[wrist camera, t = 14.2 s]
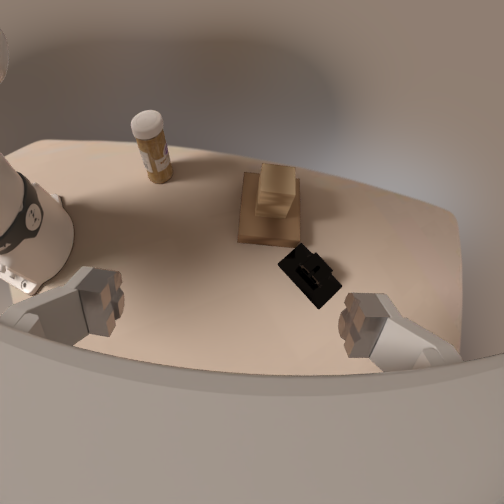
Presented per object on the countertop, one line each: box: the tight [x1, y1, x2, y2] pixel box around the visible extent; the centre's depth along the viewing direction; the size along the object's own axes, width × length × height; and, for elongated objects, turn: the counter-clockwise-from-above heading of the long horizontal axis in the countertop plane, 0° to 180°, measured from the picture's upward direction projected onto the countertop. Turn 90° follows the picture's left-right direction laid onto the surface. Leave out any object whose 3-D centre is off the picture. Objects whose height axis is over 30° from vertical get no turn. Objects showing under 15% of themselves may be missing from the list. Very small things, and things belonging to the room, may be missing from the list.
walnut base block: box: [237, 172, 300, 248], centre depth 45 cm, size 9×11×3 cm
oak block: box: [255, 163, 296, 219], centre depth 41 cm, size 4×4×7 cm
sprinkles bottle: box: [131, 110, 173, 184], centre depth 41 cm, size 5×5×14 cm
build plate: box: [278, 243, 342, 309], centre depth 42 cm, size 12×7×5 cm, turn 42°
